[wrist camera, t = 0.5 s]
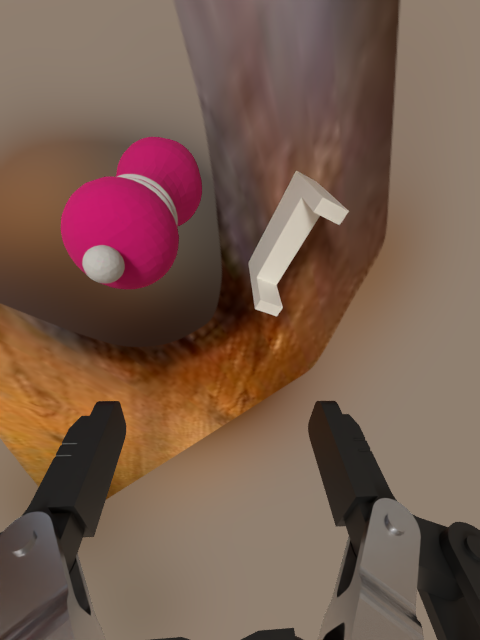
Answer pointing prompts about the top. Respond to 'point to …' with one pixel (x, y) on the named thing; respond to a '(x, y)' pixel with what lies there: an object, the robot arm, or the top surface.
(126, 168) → the pepper mill
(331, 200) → the u rest
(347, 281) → the top surface
